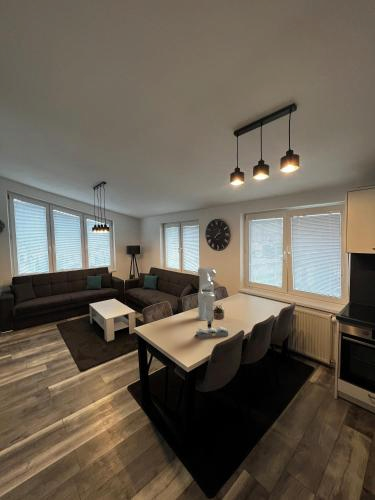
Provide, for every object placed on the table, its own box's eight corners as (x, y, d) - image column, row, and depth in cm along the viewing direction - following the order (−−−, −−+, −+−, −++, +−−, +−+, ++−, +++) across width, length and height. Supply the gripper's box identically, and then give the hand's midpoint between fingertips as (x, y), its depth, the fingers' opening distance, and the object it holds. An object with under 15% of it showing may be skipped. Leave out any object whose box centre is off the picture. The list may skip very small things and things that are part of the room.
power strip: (193, 335, 190) (193, 330, 190) (224, 332, 198) (225, 327, 198) (195, 339, 184) (196, 333, 183) (228, 335, 191) (228, 330, 191)
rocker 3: (217, 327, 193) (217, 325, 193) (224, 329, 195) (225, 328, 195) (219, 329, 189) (219, 327, 190) (226, 331, 191) (227, 329, 192)
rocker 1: (198, 329, 189) (198, 327, 189) (205, 331, 191) (206, 330, 191) (199, 331, 185) (200, 329, 185) (207, 333, 187) (207, 331, 187)
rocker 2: (207, 328, 191) (208, 326, 191) (215, 330, 193) (215, 329, 193) (209, 330, 187) (210, 328, 187) (217, 332, 189) (217, 330, 189)
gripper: (203, 305, 195) (202, 324, 195) (208, 310, 180) (208, 331, 181) (210, 305, 196) (210, 323, 197) (216, 310, 182) (216, 330, 183)
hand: (209, 327), depth 189 cm, fingers closed
